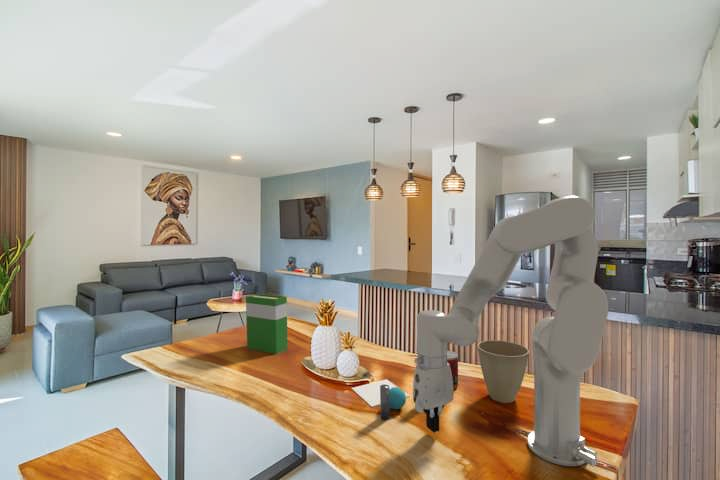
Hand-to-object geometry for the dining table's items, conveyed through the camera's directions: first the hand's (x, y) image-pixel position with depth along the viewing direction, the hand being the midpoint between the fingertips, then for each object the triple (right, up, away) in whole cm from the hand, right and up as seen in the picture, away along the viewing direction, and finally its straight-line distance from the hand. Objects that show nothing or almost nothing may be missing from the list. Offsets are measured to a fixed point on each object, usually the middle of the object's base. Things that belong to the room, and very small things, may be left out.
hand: (432, 429), depth 90 cm
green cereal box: (-61, -1, +69) cm, 92 cm away
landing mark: (-12, -1, +24) cm, 27 cm away
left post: (-12, -2, +9) cm, 15 cm away
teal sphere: (-8, +2, +14) cm, 16 cm away
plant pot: (+26, -1, +19) cm, 32 cm away
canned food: (+10, -1, +28) cm, 30 cm away
